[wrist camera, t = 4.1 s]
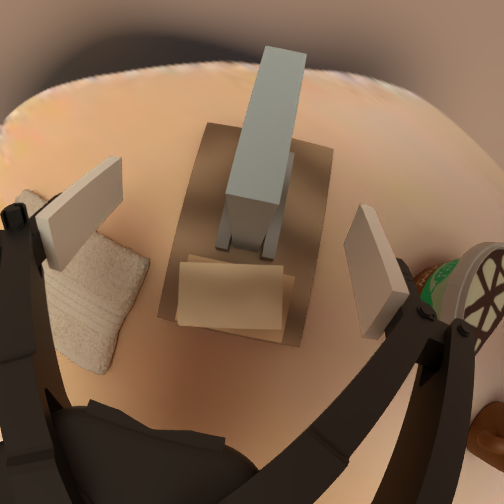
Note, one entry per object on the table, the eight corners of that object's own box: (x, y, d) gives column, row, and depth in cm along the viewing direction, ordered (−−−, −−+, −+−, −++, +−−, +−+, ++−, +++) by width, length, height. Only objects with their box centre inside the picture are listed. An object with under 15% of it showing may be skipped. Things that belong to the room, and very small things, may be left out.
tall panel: (257, 252, 25) (279, 204, 11) (233, 247, 25) (225, 193, 11) (275, 164, 26) (306, 54, 12) (253, 159, 26) (265, 45, 12)
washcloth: (32, 190, 26) (16, 181, 23) (158, 259, 26) (148, 255, 23) (-4, 285, 25) (-22, 284, 22) (111, 373, 24) (97, 381, 21)
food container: (438, 229, 27) (504, 206, 17) (467, 272, 26) (534, 263, 17) (365, 316, 25) (427, 327, 16) (401, 359, 25) (466, 384, 15)
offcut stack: (277, 337, 24) (286, 348, 19) (181, 317, 24) (167, 323, 19) (290, 273, 25) (302, 269, 20) (194, 253, 25) (183, 244, 20)
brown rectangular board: (297, 345, 25) (304, 352, 22) (160, 316, 25) (150, 319, 22) (330, 153, 27) (339, 139, 24) (208, 127, 27) (205, 111, 24)
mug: (433, 450, 24) (479, 483, 14) (462, 392, 25) (517, 412, 15) (485, 452, 24) (526, 474, 14) (509, 403, 25) (554, 418, 15)
